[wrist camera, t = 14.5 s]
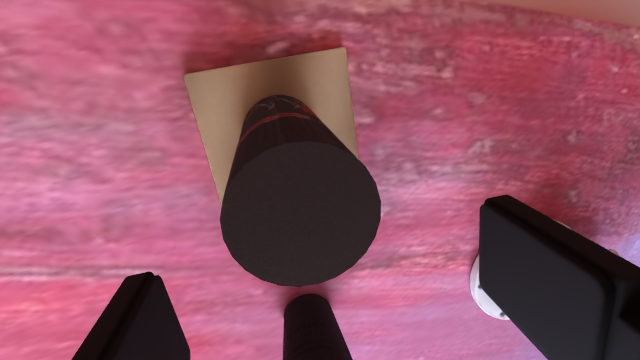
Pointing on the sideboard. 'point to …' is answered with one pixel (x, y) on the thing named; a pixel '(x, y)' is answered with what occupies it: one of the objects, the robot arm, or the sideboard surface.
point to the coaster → (263, 81)
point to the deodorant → (296, 197)
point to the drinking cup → (312, 331)
